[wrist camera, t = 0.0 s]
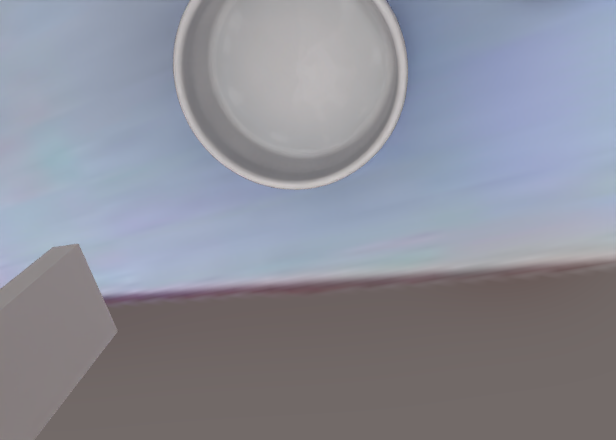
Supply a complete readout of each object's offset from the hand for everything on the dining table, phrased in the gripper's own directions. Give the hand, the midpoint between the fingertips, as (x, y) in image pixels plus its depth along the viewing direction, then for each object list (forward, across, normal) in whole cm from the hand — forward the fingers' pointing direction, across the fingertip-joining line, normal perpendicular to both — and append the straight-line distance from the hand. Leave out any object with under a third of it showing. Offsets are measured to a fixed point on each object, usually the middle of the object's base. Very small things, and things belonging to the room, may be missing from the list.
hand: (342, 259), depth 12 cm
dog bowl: (+28, -5, +1) cm, 29 cm away
